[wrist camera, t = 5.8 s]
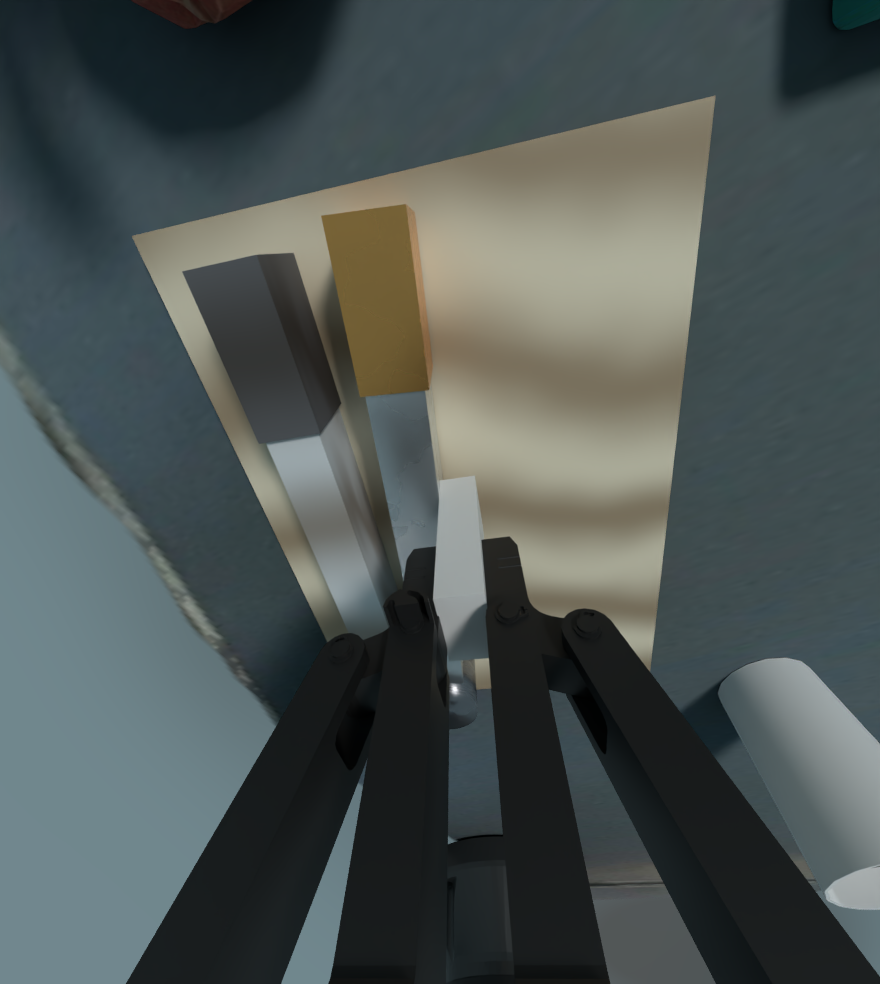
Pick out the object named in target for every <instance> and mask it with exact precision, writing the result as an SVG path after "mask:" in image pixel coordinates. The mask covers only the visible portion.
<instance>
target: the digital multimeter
mask: <svg viewBox="0 0 880 984" xmlns="http://www.w3.org/2000/svg"><path fill="white" fill-rule="evenodd" d="M832 17H833V23H834V25H835V26H836V27H837V28H838V30H850V29H852V28H855V27H858V26H861V25H864V24H866V23H869V22H872V21H875V20H877V19H880V0H833V7H832Z"/></svg>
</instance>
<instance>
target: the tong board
mask: <svg viewBox="0 0 880 984" xmlns="http://www.w3.org/2000/svg"><path fill="white" fill-rule="evenodd" d="M714 104H715V96H712V97H708V98H704V99H699V100H695V101H691V102H687V103H683V104H679V105H675V106H670V107H666V108H662V109H658V110H654V111H650V112H645V113H641V114H637V115H633V116H629V117H625V118H621V119H616V120H612V121H608V122H604V123H600V124H596V125H591V126H587V127H583V128H579V129H575V130H571V131H567V132H562V133H558V134H554V135H550V136H546V137H542V138H537V139H533V140H529V141H525V142H521V143H517V144H513V145H508V146H504V147H500V148H496V149H492V150H488V151H483V152H479V153H475V154H471V155H467V156H463V157H458V158H454V159H450V160H446V161H442V162H438V163H434V164H429V165H425V166H421V167H417V168H413V169H409V170H404V171H400V172H396V173H392V174H388V175H384V176H380V177H375V178H371V179H367V180H363V181H359V182H355V183H350V184H346V185H342V186H338V187H334V188H330V189H326V190H321V191H317V192H313V193H309V194H305V195H301V196H296V197H292V198H288V199H284V200H280V201H276V202H272V203H267V204H263V205H259V206H255V207H251V208H247V209H242V210H238V211H234V212H230V213H226V214H222V215H217V216H213V217H209V218H205V219H201V220H197V221H193V222H188V223H184V224H180V225H176V226H172V227H168V228H163V229H159V230H155V231H151V232H147V233H143V234H139V235H134V236H132V238H133V240H134V242H135V244H136V246H137V248H138V250H139V252H140V254H141V256H142V258H143V261H144V263H145V265H146V267H147V269H148V271H149V273H150V275H151V277H152V279H153V281H154V283H155V285H156V288H157V290H158V292H159V294H160V296H161V298H162V300H163V302H164V304H165V306H166V308H167V310H168V312H169V315H170V317H171V319H172V321H173V323H174V325H175V327H176V329H177V331H178V333H179V335H180V337H181V339H182V341H183V344H184V346H185V348H186V350H187V352H188V354H189V356H190V358H191V360H192V362H193V364H194V366H195V368H196V371H197V373H198V375H199V377H200V379H201V381H202V383H203V385H204V387H205V389H206V391H207V393H208V395H209V398H210V400H211V402H212V404H213V406H214V408H215V410H216V412H217V414H218V416H219V418H220V420H221V422H222V424H223V427H224V429H225V431H226V433H227V435H228V437H229V439H230V441H231V443H232V445H233V447H234V449H235V451H236V454H237V456H238V458H239V460H240V462H241V464H242V466H243V468H244V470H245V472H246V474H247V476H248V478H249V481H250V483H251V485H252V487H253V489H254V491H255V493H256V495H257V497H258V499H259V501H260V503H261V505H262V507H263V510H264V512H265V514H266V516H267V518H268V520H269V522H270V524H271V526H272V528H273V530H274V532H275V534H276V537H277V539H278V541H279V543H280V545H281V547H282V549H283V551H284V553H285V555H286V557H287V559H288V561H289V563H290V566H291V568H292V570H293V572H294V574H295V576H296V578H297V580H298V582H299V584H300V586H301V588H302V590H303V593H304V595H305V597H306V599H307V601H308V603H309V605H310V607H311V609H312V611H313V613H314V615H315V617H316V620H317V622H318V624H319V626H320V628H321V630H322V632H323V634H324V636H325V638H326V640H327V642H328V641H330V640H331V639H332V638H334V637H336V636H338V635H341V634H344V633H353V634H356V635H359V636H360V637H361V638H362V639H363V640H364V639H367V638H369V637H372V636H375V635H377V634H379V633H381V632H383V631H385V630H386V629H388V628H389V627H390V626H389V623H388V620H387V617H386V615H385V612H384V609H383V605H384V603H385V601H386V599H387V598H388V597H389V596H390V595H391V594H392V593H394V592H396V591H398V590H400V589H402V587H403V576H402V571H401V566H400V562H399V557H398V552H397V547H396V542H395V537H394V533H393V528H392V523H391V518H390V513H389V509H388V504H387V499H386V494H385V489H384V485H383V480H382V475H381V470H380V465H379V461H378V456H377V451H376V446H375V441H374V437H373V432H372V427H371V422H370V417H369V413H368V408H367V403H366V398H365V397H360V395H359V390H358V386H357V381H356V376H355V372H354V367H353V362H352V358H351V353H350V348H349V344H348V339H347V334H346V330H345V325H344V321H343V316H342V311H341V307H340V302H339V297H338V293H337V288H336V283H335V279H334V274H333V269H332V265H331V260H330V255H329V251H328V246H327V241H326V237H325V232H324V227H323V223H322V218H321V216H322V215H330V214H337V213H344V212H351V211H359V210H366V209H373V208H380V207H388V206H395V205H402V204H406V205H408V206H409V207H410V208H411V209H412V210H413V211H414V212H415V217H416V226H417V234H418V243H419V251H420V260H421V268H422V277H423V285H424V294H425V302H426V311H427V319H428V328H429V336H430V345H431V353H432V362H433V370H432V376H431V385H432V393H433V402H434V410H435V418H436V426H437V434H438V442H439V451H440V459H441V467H442V475H443V480H447V479H454V478H461V477H468V476H475V480H476V486H477V493H478V499H479V506H480V512H481V518H482V525H483V532H484V539H491V538H499V537H507V536H510V537H511V538H512V540H513V541H514V542H515V543H516V544H517V546H518V551H519V555H520V560H521V566H522V570H523V575H524V580H525V585H526V590H527V595H528V598H529V601H530V603H531V604H532V606H533V607H534V608H535V609H537V610H538V611H540V612H542V613H544V614H546V615H550V616H555V617H560V618H564V617H565V616H566V615H567V614H568V613H570V612H572V611H573V610H576V609H583V608H587V609H593V610H596V611H599V612H601V613H603V614H605V615H606V616H607V617H608V618H609V619H610V620H611V621H612V622H613V624H614V625H615V626H616V628H617V629H618V630H619V632H620V633H621V634H622V636H623V637H624V638H625V640H626V641H627V642H628V644H629V645H630V646H631V648H632V649H633V650H634V651H635V653H636V654H637V655H638V657H639V658H640V659H641V661H642V662H643V663H644V665H645V666H646V667H647V669H648V670H649V671H650V666H651V657H652V648H653V640H654V631H655V622H656V613H657V605H658V596H659V587H660V578H661V569H662V561H663V552H664V543H665V534H666V525H667V517H668V508H669V499H670V490H671V482H672V473H673V464H674V455H675V446H676V438H677V429H678V420H679V411H680V403H681V394H682V385H683V376H684V367H685V359H686V350H687V341H688V332H689V323H690V315H691V306H692V297H693V288H694V280H695V271H696V262H697V253H698V244H699V236H700V227H701V218H702V209H703V201H704V192H705V183H706V174H707V165H708V157H709V148H710V139H711V130H712V121H713V113H714ZM475 674H476V689H487V688H491V679H490V667H489V658H484V659H475Z"/></svg>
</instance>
